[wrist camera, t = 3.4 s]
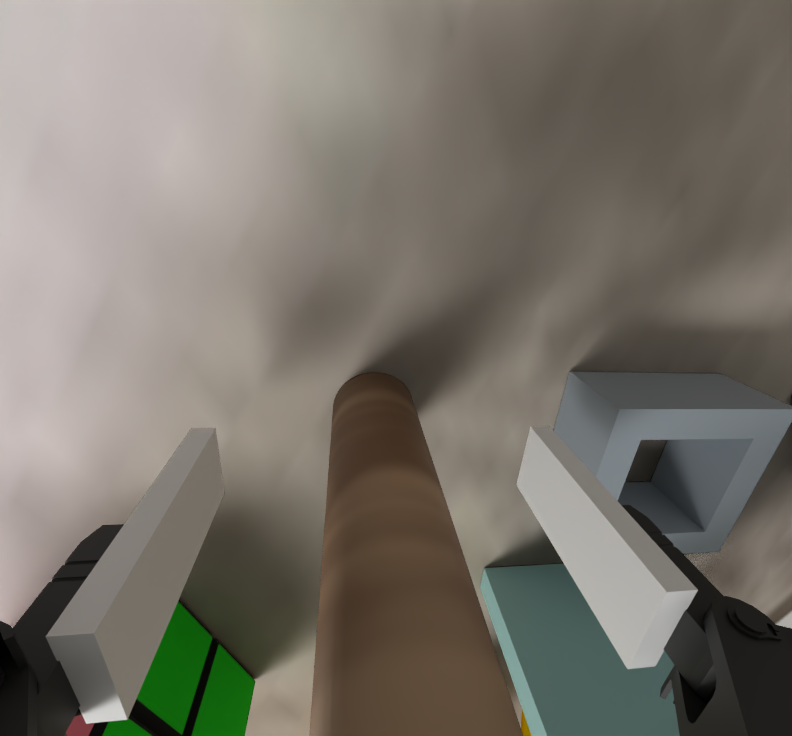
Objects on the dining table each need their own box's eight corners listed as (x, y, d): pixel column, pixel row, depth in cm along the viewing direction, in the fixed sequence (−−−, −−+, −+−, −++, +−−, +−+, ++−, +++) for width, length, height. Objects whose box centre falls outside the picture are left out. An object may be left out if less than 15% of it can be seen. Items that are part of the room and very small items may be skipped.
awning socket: (507, 370, 17) (1484, 1384, 2) (773, 374, 19) (2219, 955, 4) (463, 587, 23) (675, 1285, 8) (671, 574, 24) (1148, 1119, 10)
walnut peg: (333, 371, 16) (290, 849, 4) (416, 373, 16) (590, 803, 5) (333, 442, 17) (301, 950, 6) (409, 441, 18) (529, 906, 6)
